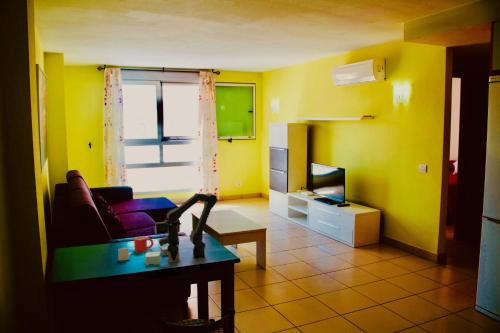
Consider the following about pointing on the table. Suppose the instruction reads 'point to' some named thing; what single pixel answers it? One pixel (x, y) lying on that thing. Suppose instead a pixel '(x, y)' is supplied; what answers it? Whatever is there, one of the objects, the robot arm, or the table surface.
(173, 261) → the walnut cube
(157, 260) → the plinth block
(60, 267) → the table surface
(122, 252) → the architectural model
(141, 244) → the mug
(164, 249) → the tan wooden block
